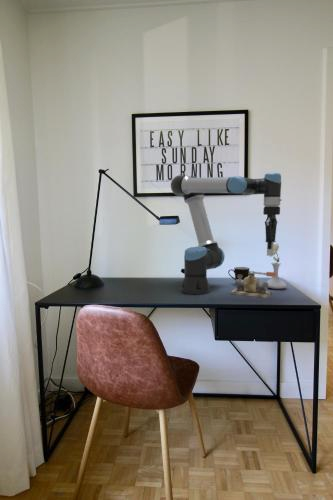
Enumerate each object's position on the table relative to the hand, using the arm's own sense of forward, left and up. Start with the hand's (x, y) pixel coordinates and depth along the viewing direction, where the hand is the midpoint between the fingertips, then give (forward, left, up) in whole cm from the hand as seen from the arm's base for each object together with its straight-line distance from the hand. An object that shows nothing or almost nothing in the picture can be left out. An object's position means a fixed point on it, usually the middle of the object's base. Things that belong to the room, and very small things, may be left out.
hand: (270, 255), depth 157 cm
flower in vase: (-3, +22, -21) cm, 30 cm away
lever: (-4, +2, -10) cm, 11 cm away
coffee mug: (-23, +20, -21) cm, 37 cm away
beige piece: (-10, +2, -21) cm, 23 cm away
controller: (-52, +14, -21) cm, 58 cm away
